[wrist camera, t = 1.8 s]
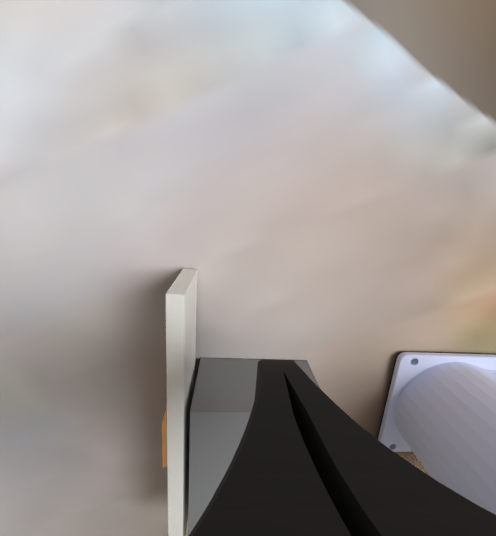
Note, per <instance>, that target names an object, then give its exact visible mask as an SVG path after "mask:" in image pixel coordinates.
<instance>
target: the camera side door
mask: <svg viewBox="0 0 496 536" xmlns="http://www.w3.org/2000/svg"><path fill="white" fill-rule="evenodd" d="M196 306H197V269H184V268H183V270H182V271H181V272H180V274H179V275H178V277H177V278H176V280H175V281H174V283H173V284H172V285H171V287H170V288H169V290H168V291H167V293H166V374H167V407H166V410H165V414H164V417H163V420H162V457H163V467H167V468H168V536H185V535H186V528H187V520H188V513H189V449H190V410H191V405H192V399H193V394H194V389H195V355H196Z"/></svg>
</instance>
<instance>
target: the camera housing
mask: <svg viewBox="0 0 496 536" xmlns="http://www.w3.org/2000/svg"><path fill="white" fill-rule="evenodd" d="M260 360H266V359H228V358H201V359H200V364H199V369H198V374H197V379H196V384H195V389H194V394H193V399H192V405H191V410H190V449H189V513H188V536H189V535H190V533H191V531H192V530H193V528H194V527H195V525H196V524H197V522H198V520H199V519H200V517H201V516H202V514H203V512H204V511H205V509H206V508H207V506H208V504H209V502H210V501H211V499H212V497H213V495H214V493H215V492H216V490H217V488H218V486H219V484H220V482H221V481H222V479H223V477H224V475H225V473H226V471H227V469H228V467H229V465H230V463H231V461H232V459H233V457H234V455H235V452H236V450H237V448H238V446H239V444H240V441H241V439H242V436H243V434H244V431H245V429H246V426H247V423H248V420H249V417H250V414H251V411H252V407H253V404H254V400H255V389H256V378H257V366H258V362H259V361H260ZM293 361H294V362H295V363H296V364H297V365H298V366H299V367H300V368H301V369H302V370H303V371H304V372H305V373H306V375H307V376H308V377H309V378H310V379H311V380H312V381H313V382H314V383H315V384H316V385H317V386H318V384H317V382H316V379H315V377H314V375H313V373H312V371H311V368H310V366H309V364H308V362H307V361H305V360H293ZM318 387H319V386H318Z"/></svg>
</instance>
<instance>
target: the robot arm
mask: <svg viewBox="0 0 496 536" xmlns="http://www.w3.org/2000/svg"><path fill="white" fill-rule="evenodd" d="M412 359H414V360H413V361H412V362H411V360H412ZM395 452H413V453H414V454H415V456H416V457H417V459H418V460H419V461H420V463H421V464H422V466H423V467H424V468H425V470H426V471H427V473H428V474H429V475H430V476H429V475H427V474H426V473H424V472H422V471H421V470H419V469H418V468H416V467H415V466H413V465H412V464H411V463H409V462H408V461H406V460H405V459H403V458H402V457H400V456H399V455H397V454H396V453H395ZM189 536H496V355H490V354H456V353H421V352H403V353H401V354H399V355H398V357H397V360H396V364H395V369H394V373H393V377H392V381H391V386H390V390H389V394H388V398H387V403H386V407H385V411H384V415H383V420H382V424H381V428H380V432H379V437H378V440H377V439H376V438H375V437H373V436H372V435H371V434H369V433H368V432H367V431H366V430H364V429H363V428H362V427H361V426H359V425H358V424H357V423H356V422H355V421H354V420H352V419H351V418H350V417H349V416H348V415H347V414H346V413H345V412H344V411H342V410H341V409H340V408H339V407H338V406H337V405H336V404H335V403H334V402H333V401H332V400H331V399H330V398H329V397H328V396H327V395H326V394H325V393H324V392H323V391H322V390H321V389H320V388H319V387H318V386H317V385H316V384H315V383H314V382H313V381H312V380H311V379H310V378H309V377H308V376H307V375H306V373H305V372H304V371H303V370H302V369H301V368H300V367H299V366H298V365H297V364H296V363H295V362H294V361H293V360H260V361H259V362H258V366H257V378H256V389H255V400H254V404H253V407H252V411H251V414H250V417H249V420H248V423H247V426H246V429H245V431H244V434H243V436H242V439H241V441H240V444H239V446H238V448H237V450H236V452H235V455H234V457H233V459H232V461H231V463H230V465H229V467H228V469H227V471H226V473H225V475H224V477H223V479H222V481H221V482H220V484H219V486H218V488H217V490H216V492H215V493H214V495H213V497H212V499H211V501H210V502H209V504H208V506H207V508H206V509H205V511H204V512H203V514H202V516H201V517H200V519H199V520H198V522H197V524H196V525H195V527H194V528H193V530H192V531H191V533H190V535H189Z"/></svg>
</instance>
